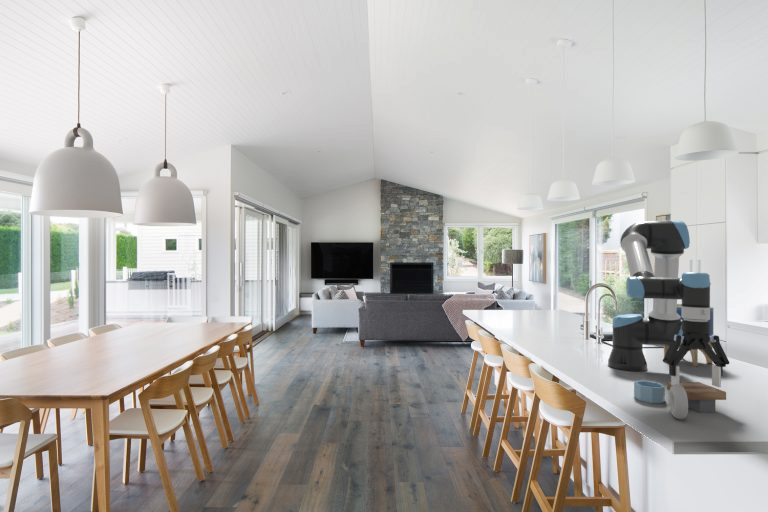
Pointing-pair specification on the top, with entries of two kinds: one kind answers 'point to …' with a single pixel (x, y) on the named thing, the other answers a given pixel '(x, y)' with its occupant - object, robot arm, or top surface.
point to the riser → (702, 405)
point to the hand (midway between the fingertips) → (695, 386)
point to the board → (700, 391)
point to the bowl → (649, 391)
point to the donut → (678, 401)
